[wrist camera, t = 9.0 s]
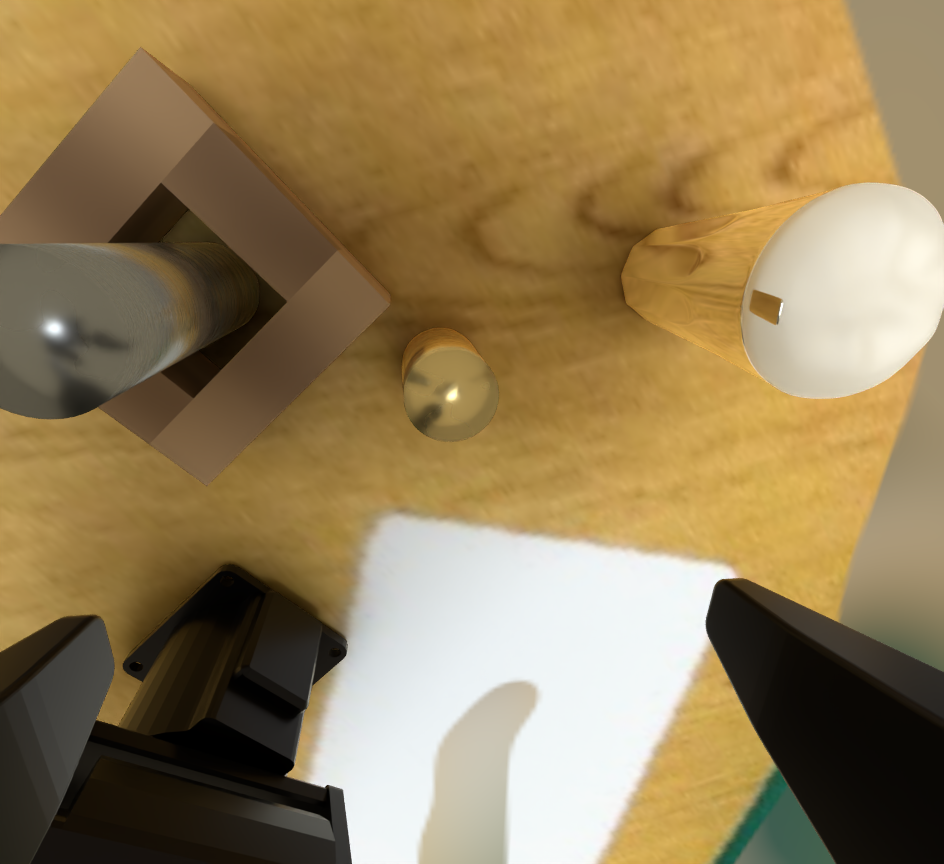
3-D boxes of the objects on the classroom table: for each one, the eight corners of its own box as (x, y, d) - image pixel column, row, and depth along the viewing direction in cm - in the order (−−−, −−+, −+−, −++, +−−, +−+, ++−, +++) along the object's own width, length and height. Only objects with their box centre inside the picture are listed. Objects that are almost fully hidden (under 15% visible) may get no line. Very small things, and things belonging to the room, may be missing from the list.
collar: (234, 449, 18) (206, 486, 16) (19, 281, 16) (-63, 290, 13) (390, 294, 17) (389, 305, 14) (189, 84, 14) (140, 46, 12)
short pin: (438, 417, 19) (449, 459, 15) (385, 365, 18) (383, 396, 14) (493, 366, 19) (517, 397, 15) (441, 311, 18) (454, 329, 14)
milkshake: (587, 205, 17) (811, 164, 8) (731, 208, 18) (1092, 174, 9) (576, 338, 19) (751, 433, 10) (708, 336, 20) (992, 423, 10)
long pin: (222, 348, 17) (59, 450, 9) (148, 286, 16) (-114, 334, 8) (278, 290, 17) (163, 339, 8) (206, 222, 16) (-6, 201, 7)
